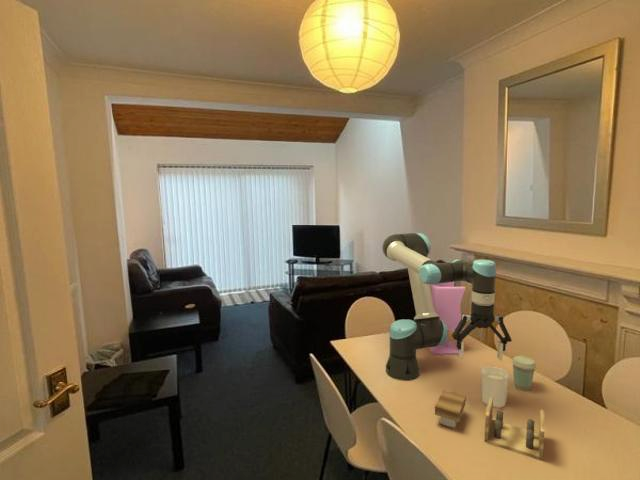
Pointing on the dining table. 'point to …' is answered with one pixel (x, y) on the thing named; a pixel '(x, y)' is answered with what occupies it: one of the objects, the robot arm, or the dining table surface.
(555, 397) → the dining table surface
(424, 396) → the dining table surface
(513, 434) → the peg frame
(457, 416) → the board
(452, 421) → the block
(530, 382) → the coffee cup
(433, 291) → the vase
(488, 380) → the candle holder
